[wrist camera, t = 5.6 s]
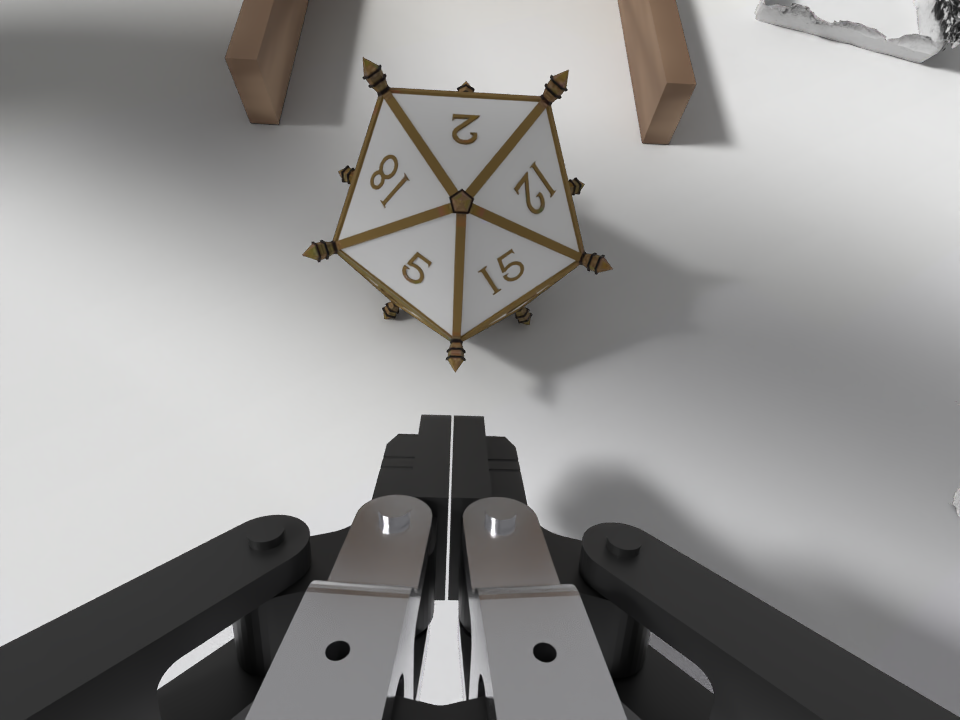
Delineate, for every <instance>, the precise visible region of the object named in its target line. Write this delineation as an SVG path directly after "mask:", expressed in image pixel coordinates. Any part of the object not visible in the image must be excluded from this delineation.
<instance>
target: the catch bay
mask: <svg viewBox="0 0 960 720" xmlns="http://www.w3.org/2000/svg"><path fill="white" fill-rule="evenodd" d="M308 1H309V0H244V1H243V4H242V7H241V10H240V13H239V16H238V19H237V22H236V25H235V28H234V32H233V35H232V38H231V41H230V44H229V47H228V50H227V53H226V56H225V60H226V62H227V65H228V67H229V70H230V72H231V75H232V77H233V80H234V82H235V85H236V88H237V90H238V93H239V95H240V98H241V100H242V103H243V105H244V108H245V110H246V113H247V116H248V118H249V121H250V123H259V124H279V121H280V117H281V113H282V109H283V104H284V100H285V96H286V92H287V88H288V84H289V80H290V76H291V71H292V67H293V63H294V59H295V55H296V51H297V47H298V42H299V38H300V34H301V30H302V26H303V22H304V18H305V14H306V9H307V5H308ZM618 5H619V10H620V16H621V22H622V28H623V34H624V40H625V46H626V51H627V57H628V63H629V69H630V75H631V81H632V86H633V92H634V98H635V104H636V110H637V116H638V121H639V127H640V133H641V139H642V143H651V144H669V142H670V140H671V138H672V136H673V134H674V132H675V129H676V127H677V125H678V123H679V121H680V119H681V117H682V114H683V112H684V110H685V108H686V106H687V104H688V101H689V99H690V97H691V95H692V93H693V91H694V89H695V86H696V81H695V77H694V73H693V69H692V65H691V61H690V57H689V53H688V49H687V45H686V41H685V37H684V33H683V29H682V24H681V20H680V16H679V12H678V8H677V4H676V0H618Z"/></svg>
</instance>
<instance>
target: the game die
mask: <svg viewBox="0 0 960 720" xmlns="http://www.w3.org/2000/svg"><path fill="white" fill-rule="evenodd" d="M363 67H364V77H363V79H366V80H367V82H368V83H369V84H370V85H369V88H373V89H374V90H375V91H376V92H377V93H378V99H377V102H376V105H375V108H374V111H373V114H372V118H371V121H370V124H369V127H368V130H367V133H366V137H365V140H364V143H363V146H362V149H361V152H360V156H359V159H358V162H357V165H356V168H355V169H354V168H352V169H351V168H350V167H349V166H348V165H347V166H346V167H345V168H344V169H342V170H340V171H338V173H339V174H340V176H341V178H342V182H348V184H350V187H349V190H348V194H347V197H346V200H345V203H344V206H343V209H342V213H341V216H340V219H339V222H338V225H337V228H336V231H335V235H334V238H333V241H331V242H325V241H323V240H320V242H318V243H315V242H312V245H311V246H310V247H309V248H308V249H307V250H306V251H305V252H304V254H303V256H306V257H309V258H312V259H315V260H317V261H318V262H320V261H321V259H325V258H326V260H327V259H329V256H331V255H332V254H338V255H339V256H340V257H341V258H342V259H344V260H345V261H346V262H347V263H348V264H349V265H350V266H352V267H353V268H354V269H355V270H356V271H357V272H358V273H360V274H361V275H362V276H363V277H364V278H365V279H366V280H368V281H369V282H370V283H371V284H372V285H373V286H374V287H376V288H377V289H378V290H379V291H380V292H381V293H382V294H384V295H385V296H386V297H387V298H388V299H389V300H390V301H391V302H389V303H386V306H385V307H383V308H382V310H383V311H384V319H388V318H396V314H398V313H399V307H400V308H401V309H403V310H404V311H406V312H407V313H409V314H410V315H412V316H413V317H415V318H416V319H418V320H419V321H421V322H422V323H424V324H425V325H427V326H428V327H430V328H431V329H432V330H434V331H435V332H437V333H438V334H440V335H441V336H443V337H444V338H446V339H447V340H449V341H450V343H451V345H450V348H449V349H448V350H447V352H448V357H447V358H446V360H448V361H449V363H450V364H451V366H452V368H453V369H454V371H455V372H456V371H457V369H458V368H459V367H460V365H461V364H462V362H463V361H466V359H465V358H464V353H465V350H464V349H463V346H462V343H463V341H465V340H467V339H469V338H470V337H472V336H474V335H476V334H478V333H479V332H481V331H483V330H485V329H486V328H488V327H490V326H492V325H494V324H495V323H497V322H499V321H501V320H502V319H504V318H506V317H508V316H510V315H511V314H513V313H516V319H518V322H519V323H524V324H528V325H529V324H530V318H531V316H532V314H531V313H529V309H527V308H525V307H524V306H525V305H527V304H528V303H529V302H531V301H532V300H533V299H535V298H536V297H537V296H539V295H540V294H541V293H543V292H544V291H545V290H547V289H548V288H549V287H551V286H552V285H553V284H555V283H556V282H557V281H559V280H560V279H561V278H563V277H564V276H565V275H567V274H568V273H569V272H571V271H572V270H573V269H575V268H576V267H577V266H579V265H584V266H585V267H586V268H587V271H590V270H591V271H594V272H595V274H596V275H597V274H598V273H599V272H603V271H607V270H612V267H611V266H610V265H609V263H608V262H607V261H606V259H605V258H604V256H605V255H602V256H599V255H597V253H593V254H587V253H586V252H585V251H584V247H583V242H582V238H581V234H580V229H579V225H578V221H577V216H576V212H575V208H574V203H573V199H572V195H575V194H580V191H581V189H582V188H583V186H584V185H585V184H583V183H582V182H580V181H579V180H578V179H577V178H574V179H573V180H571V179H570V180H569V181H568V177H567V173H566V169H565V164H564V160H563V156H562V151H561V147H560V143H559V138H558V134H557V130H556V125H555V121H554V117H553V112H552V108H551V104H552V102H554V101H555V100H556V99H560V98H561V94H562V93H563V92H564V91H567V88H566V86H567V79H568V72H569V70H567V71H564V72H562V73H560V74H557V75H555V76H552V75H551V76H550V78H551V79H550V81H549V83H548V84H545V90H544V93H543V94H542V95H541V96H527V95H510V94H493V93H476V92H474V88H472V87H471V86H470V85H469V84H468V83H467V81H466V82H465V83H464V84H463V85H462V86H460V87H458V88H457V90H458V91H441V90H424V89H407V88H390V87H389V86H388V85H387V82H386V74H383V72H382V70H381V67H382V66H381V65H379V66H378V65H376V64H375V63H373V62H371V61H369V60H367V59H365V58H364V57H363Z"/></svg>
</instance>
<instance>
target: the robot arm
mask: <svg viewBox="0 0 960 720" xmlns="http://www.w3.org/2000/svg"><path fill="white" fill-rule="evenodd" d="M450 442H451V415H421V421H420V428H419V434H398V435H397V436H396V437H395V438H393V439H392V440H391V441H390V442H389V443H388V444H387V446H386V449H385V453H384V459H383V460H382V464H381V469H380V471H379V475H378V479H377V483H376V486H375V490H374V494H373V497H372V500H371V501H369V502H367V503H366V504H364V505H363V506H362V507H361V508H360V509H359V510H358V512H357V514H356V516H355V518H354V520H353V523H352V525H351V526H349V527H347V528H345V529H342V530H339V531H335V532H331V533H326V534H320V535H315V536H310V531H309V528H308V526H307V525H306V524H305V523H304V522H303V521H302V520H300V519H298V518H295V517H292V516H287V515H269V516H263V517H259V518H255V519H252V520H250V521H247V522H245V523H243V524H241V525H239V526H237V527H235V528H233V529H231V530H229V531H227V532H225V533H223V534H221V535H219V536H217V537H215V538H213V539H211V540H210V541H208V542H206V543H204V544H202V545H200V546H198V547H196V548H194V549H192V550H190V551H188V552H186V553H184V554H182V555H180V556H178V557H176V558H174V559H172V560H170V561H168V562H166V563H164V564H162V565H160V566H158V567H156V568H154V569H153V570H151V571H149V572H147V573H145V574H143V575H141V576H139V577H137V578H135V579H133V580H131V581H129V582H127V583H125V584H123V585H121V586H119V587H117V588H115V589H113V590H111V591H109V592H107V593H105V594H103V595H101V596H99V597H97V598H96V599H94V600H92V601H90V602H88V603H86V604H84V605H82V606H80V607H78V608H76V609H74V610H72V611H70V612H68V613H66V614H64V615H62V616H60V617H58V618H56V619H54V620H52V621H50V622H48V623H46V624H44V625H42V626H40V627H39V628H37V629H35V630H33V631H31V632H29V633H27V634H25V635H23V636H21V637H19V638H17V639H15V640H13V641H11V642H9V643H7V644H5V645H3V646H1V647H0V720H960V717H958V716H956V715H955V714H953V713H951V712H950V711H948V710H946V709H944V708H943V707H941V706H939V705H938V704H936V703H934V702H933V701H931V700H929V699H927V698H926V697H924V696H922V695H921V694H919V693H917V692H916V691H914V690H912V689H911V688H909V687H907V686H905V685H904V684H902V683H900V682H899V681H897V680H895V679H894V678H892V677H890V676H889V675H887V674H885V673H883V672H882V671H880V670H878V669H877V668H875V667H873V666H872V665H870V664H868V663H866V662H865V661H863V660H861V659H860V658H858V657H856V656H855V655H853V654H851V653H850V652H848V651H846V650H844V649H843V648H841V647H839V646H838V645H836V644H834V643H833V642H831V641H829V640H828V639H826V638H824V637H822V636H821V635H819V634H817V633H816V632H814V631H812V630H811V629H809V628H807V627H805V626H804V625H802V624H800V623H799V622H797V621H795V620H794V619H792V618H790V617H789V616H787V615H785V614H783V613H782V612H780V611H778V610H777V609H775V608H773V607H772V606H770V605H768V604H767V603H765V602H763V601H761V600H760V599H758V598H756V597H755V596H753V595H751V594H750V593H748V592H746V591H744V590H743V589H741V588H739V587H738V586H736V585H734V584H733V583H731V582H729V581H728V580H726V579H724V578H722V577H721V576H719V575H717V574H716V573H714V572H712V571H711V570H709V569H707V568H706V567H704V566H702V565H700V564H699V563H697V562H695V561H694V560H692V559H690V558H689V557H687V556H685V555H683V554H682V553H680V552H678V551H677V550H675V549H673V548H672V547H670V546H668V545H667V544H665V543H663V542H661V541H660V540H658V539H656V538H655V537H653V536H651V535H650V534H648V533H646V532H644V531H642V530H641V529H638V528H636V527H633V526H630V525H626V524H621V523H601V524H598V525H595V526H592V527H591V528H589V529H588V530H587V531H586V532H585V533H584V535H583V539H582V541H580V540H576V539H572V538H568V537H564V536H560V535H557V534H554V533H552V532H550V531H548V530H546V529H544V528H543V527H541V526H540V524H539V521H538V518H537V516H536V514H535V512H534V511H533V510H532V509H531V508H530V507H529V506H527V501H526V496H525V491H524V486H523V481H522V476H521V472H520V466H519V462H518V456H517V451H516V447H515V446H514V445H513V444H512V443H511V442H510V441H509V440H508V439H507V438H506V437H496V436H486V435H485V425H484V416H454V431H453V459H452V488H451V521H450V555H449V590H448V600H459V615H458V647H459V659H460V671H461V682H462V694H463V701H461V702H457V703H453V704H449V705H443V706H438V705H432V704H428V703H424V702H420V701H419V698H420V692H421V686H422V680H423V673H424V667H425V661H426V655H427V648H428V642H429V634H430V622H431V620H432V618H433V613H434V600H445V580H446V553H447V527H448V500H449V471H450ZM231 624H233V631H234V639H232V640H231V641H229V642H228V643H226V644H225V645H223V646H222V647H220V648H219V649H217V650H216V651H214V652H213V653H211V654H210V655H208V656H207V657H205V658H204V659H203V660H201V661H200V662H198V663H197V664H195V665H194V666H192V667H191V668H189V669H188V670H186V671H185V672H183V673H182V674H180V675H179V676H177V677H176V678H174V679H173V680H171V681H170V682H169V683H167V684H166V685H164V686H163V687H161V688H160V689H158V690H157V687H158V684H159V682H160V680H161V678H162V676H163V675H164V673H165V672H166V671H167V669H168V668H169V667H170V666H171V665H172V664H173V663H174V662H176V661H177V660H178V659H180V658H181V657H182V656H184V655H185V654H187V653H189V652H190V651H192V650H193V649H195V648H196V647H198V646H199V645H201V644H202V643H204V642H205V641H207V640H208V639H210V638H212V637H213V636H215V635H216V634H218V633H219V632H221V631H222V630H224V629H225V628H227V627H228V626H230V625H231ZM650 631H651V632H653V633H654V634H655V635H657V636H658V637H659V638H661V639H662V640H664V641H665V642H666V643H668V644H669V645H670V646H672V647H673V648H674V649H676V650H677V651H679V652H680V653H681V654H683V655H684V656H685V657H687V658H688V659H689V660H691V661H692V662H693V663H695V664H696V665H697V666H698V667H699V668H700V669H701V670H702V671H703V672H704V673H705V674H706V676H707V677H708V679H709V680H710V682H711V684H712V687H713V690H714V694H713V693H711V692H710V691H709V690H708V689H706V688H705V687H704V686H702V685H701V684H700V683H698V682H697V681H696V680H694V679H693V678H692V677H690V676H689V675H688V674H686V673H685V672H684V671H683V670H681V669H680V668H679V667H677V666H676V665H675V664H673V663H672V662H671V661H669V660H668V659H667V658H665V657H664V656H663V655H661V654H660V653H659V652H657V651H656V650H655V649H654V648H652V647H651V646H650V645H648V641H649V636H650Z"/></svg>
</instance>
